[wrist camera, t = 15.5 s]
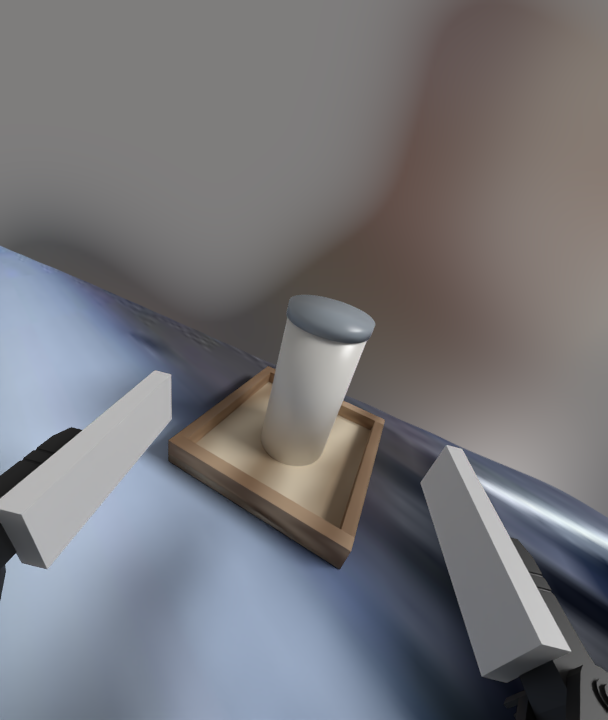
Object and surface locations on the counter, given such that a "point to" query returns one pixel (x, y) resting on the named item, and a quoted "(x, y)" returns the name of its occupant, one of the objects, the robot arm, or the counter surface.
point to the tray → (283, 469)
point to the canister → (312, 376)
